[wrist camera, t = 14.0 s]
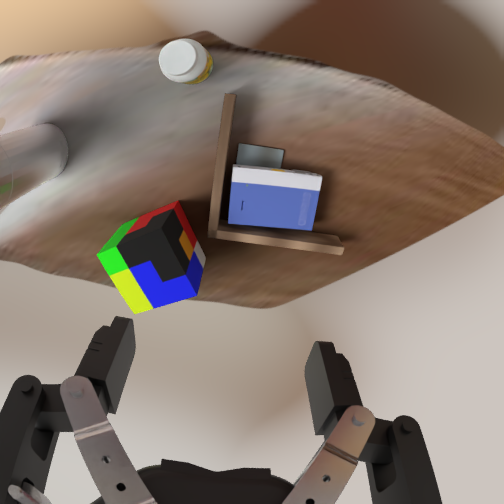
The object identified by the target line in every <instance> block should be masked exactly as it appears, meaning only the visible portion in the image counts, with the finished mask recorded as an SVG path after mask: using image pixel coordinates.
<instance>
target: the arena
mask: <svg viewBox="0 0 504 504" xmlns="http://www.w3.org/2000/svg"><path fill="white" fill-rule="evenodd" d="M235 101H236V95H235V94H226V93H225V97H224V104H223V110H222V118H221V125H220V132H219V140H218V147H217V155H216V163H215V171H214V180H213V189H212V197H211V207H210V216H209V226H208V236H207V237H209V238H216V239H224V240H232V241H240V242H247V243H255V244H262V245H270V246H278V247H285V248H293V249H300V250H307V251H315V252H322V253H330V254H337V255H342V253H343V250H344V246H343V245H342V243H341V241H340V240H339V238H338V236H335V235H329V234H322V233H315V232H309V231H302V230H295V229H288V228H277V227H265V226H252V225H240V224H228V220H222V219H220V212H221V204H222V195H223V187H224V180H225V172H226V164H227V157H228V150H229V142H230V135H231V128H232V121H233V114H234V108H235ZM283 152H284V150H281V149H275V148H269V147H262V146H255V145H248V144H241V143H239V148H238V155H237V162H236V165H248V166H258V167H267V168H277V169H280V168H281V163H282V157H283Z"/></svg>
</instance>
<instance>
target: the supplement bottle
mask: <svg viewBox="0 0 504 504" xmlns="http://www.w3.org/2000/svg"><path fill="white" fill-rule="evenodd" d="M159 64H160V67H161V70H162V72H163V74H164V75H165V76H166V77H167V78H168V79H170V80H172V81H175V82H179V83H185V84H198V83H200V82H202V81H204V80H205V79H206V78H208V76H209V75H210V73H211V71H212V68H213V59H212V57H211V55H210V54H209V52H208V51H207V50H206V49H205V48H204V47H203V46H202V45H201V44H200V43H198V42H197V41H195V40H192V39H179V40H175V41H172V42H170V43H168V44H167V45H165V46H164V47H163V49H162V50H161V52H160V55H159Z"/></svg>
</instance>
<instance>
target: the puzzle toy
mask: <svg viewBox="0 0 504 504" xmlns="http://www.w3.org/2000/svg"><path fill="white" fill-rule="evenodd" d="M97 256H98V258H99V260H100V261H101V263H102V265H103V266H104V268H105V270H106V271H107V273H108V274H109V276H110V278H111V279H112V281H113V282H114V284H115V286H116V287H117V289H118V290H119V292H120V293H121V295H122V297H123V298H124V300H125V301H126V303H127V304H128V306H129V307H130V309H131V310H132V311H133V313H134V314H137V313H140V312H144V311H147V310H151V309H154V308H157V307H161V306H164V305H167V304H171V303H174V302H178V301H181V300H184V299H188V298H191V297H194V296H197V294H198V290H199V286H200V281H201V277H202V273H203V269H204V265H205V260H206V257H205V255H204V253H203V251H202V249H201V247H200V245H199V242H198V240H197V238H196V236H195V234H194V232H193V230H192V228H191V226H190V224H189V222H188V220H187V218H186V215H185V213H184V211H183V209H182V207H181V205H180V203H179V201H176V202H173V203H171V204H168V205H166V206H164V207H161V208H159V209H157V210H154V211H152V212H149V213H147V214H145V215H142V216H140V217H138V218H136V219H133V220H131V221H129V222H126V223H124V224H122V225H121V227H120V228H119V229H118V230H117V231H116V232H115V233H114V235H113V236H112V237H111V238H110V239H109V240H108V242H107V243H106V244H105V245H104V246H103V248H102V249H101V250H100V251H99V252H98V254H97Z"/></svg>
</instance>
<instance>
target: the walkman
mask: <svg viewBox="0 0 504 504" xmlns="http://www.w3.org/2000/svg"><path fill="white" fill-rule="evenodd" d="M321 182H322V176H321V175H319V174H316V173H311V172H310V171H302V170H295V169H292V170H285V169H277V168H267V167H258V166H248V165H236V164H233V168H232V178H231V189H230V200H229V212H228V224H240V225H252V226H265V227H277V228H288V229H300V230H311V231H312V227H313V223H314V218H315V213H316V208H317V203H318V197H319V192H320V187H321Z"/></svg>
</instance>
